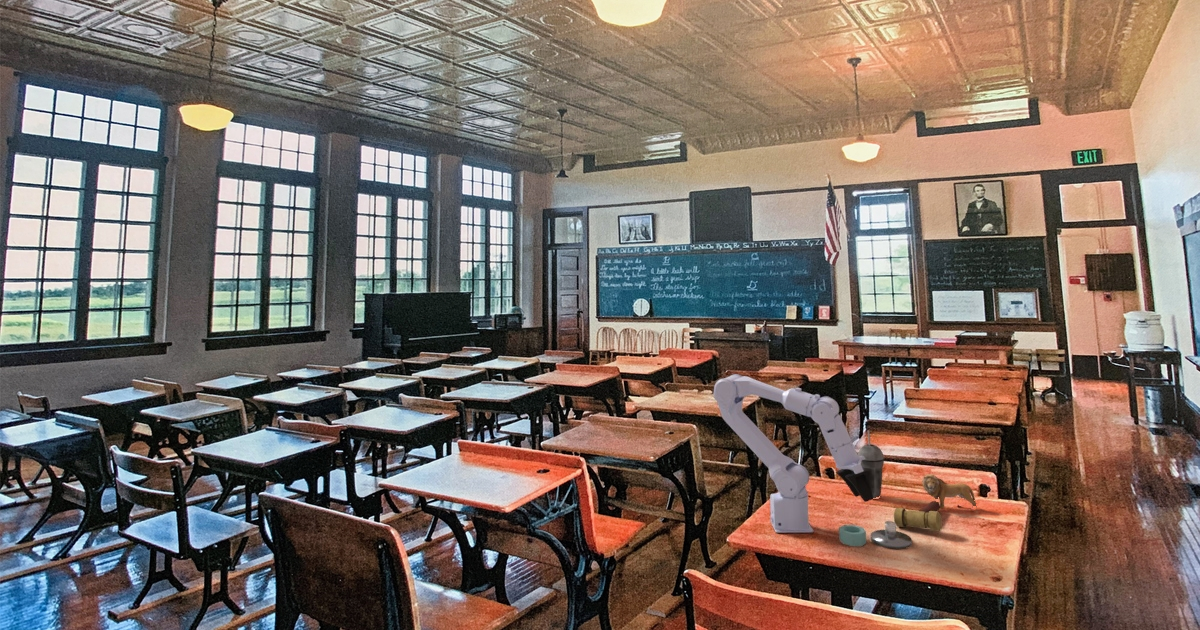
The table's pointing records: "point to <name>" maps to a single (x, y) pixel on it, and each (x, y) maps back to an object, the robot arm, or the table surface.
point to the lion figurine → (946, 490)
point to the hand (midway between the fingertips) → (864, 497)
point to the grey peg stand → (891, 537)
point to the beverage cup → (873, 465)
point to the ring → (852, 535)
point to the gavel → (920, 517)
